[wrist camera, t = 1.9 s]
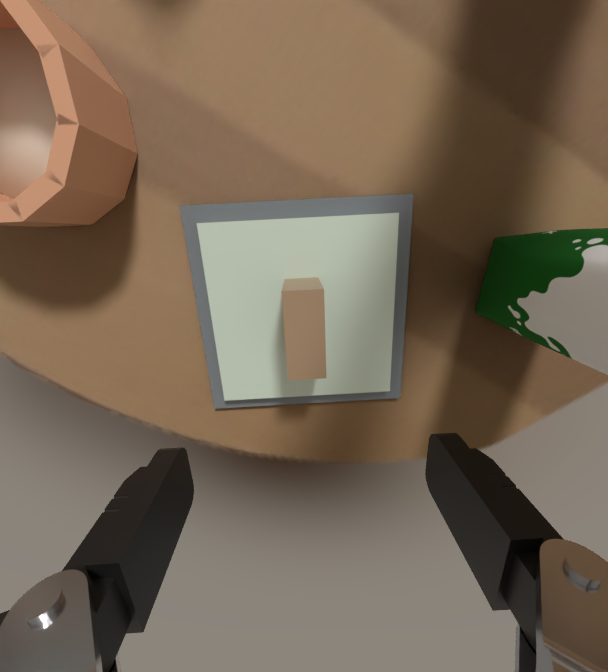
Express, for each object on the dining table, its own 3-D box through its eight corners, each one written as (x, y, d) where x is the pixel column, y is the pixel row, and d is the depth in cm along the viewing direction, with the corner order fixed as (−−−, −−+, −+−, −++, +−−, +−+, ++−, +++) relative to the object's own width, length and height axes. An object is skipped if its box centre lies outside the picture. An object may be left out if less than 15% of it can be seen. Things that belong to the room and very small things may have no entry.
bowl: (108, 11, 21) (25, -88, 15) (151, 221, 26) (102, 217, 19) (-90, 20, 21) (-263, -76, 15) (-11, 229, 26) (-117, 228, 19)
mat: (410, 194, 26) (413, 193, 25) (398, 395, 32) (400, 398, 32) (182, 206, 26) (179, 205, 25) (216, 405, 32) (214, 408, 32)
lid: (395, 213, 26) (429, 206, 19) (387, 386, 31) (411, 427, 25) (200, 223, 26) (167, 219, 19) (226, 395, 31) (208, 439, 25)
